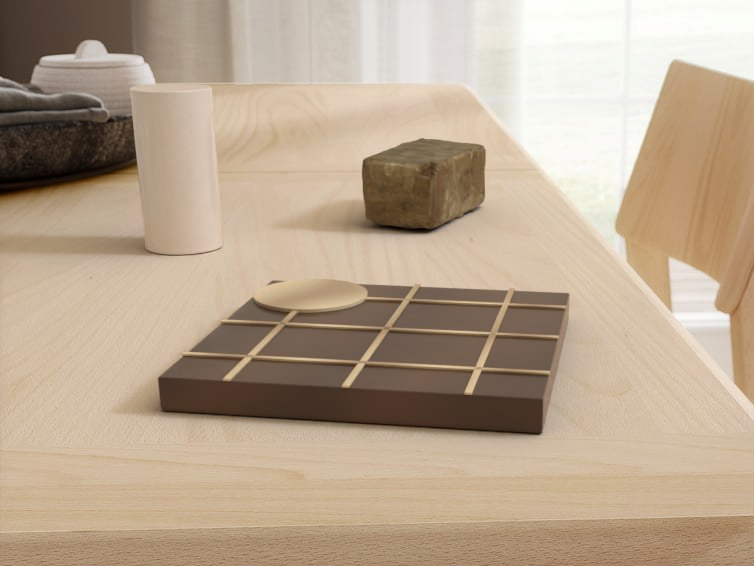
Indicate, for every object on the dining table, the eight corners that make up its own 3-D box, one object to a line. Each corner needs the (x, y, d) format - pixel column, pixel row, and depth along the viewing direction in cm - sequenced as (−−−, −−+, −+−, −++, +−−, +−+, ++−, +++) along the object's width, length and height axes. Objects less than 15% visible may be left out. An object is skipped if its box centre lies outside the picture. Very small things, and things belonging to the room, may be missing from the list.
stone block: (357, 228, 82) (355, 155, 80) (419, 200, 92) (419, 134, 90) (434, 235, 80) (434, 160, 78) (489, 205, 90) (490, 138, 88)
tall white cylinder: (133, 253, 75) (115, 90, 71) (162, 236, 79) (148, 82, 76) (208, 256, 74) (194, 92, 70) (233, 239, 79) (222, 84, 75)
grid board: (160, 411, 49) (156, 372, 48) (273, 306, 63) (271, 276, 63) (542, 434, 47) (543, 394, 46) (568, 320, 61) (570, 288, 60)
